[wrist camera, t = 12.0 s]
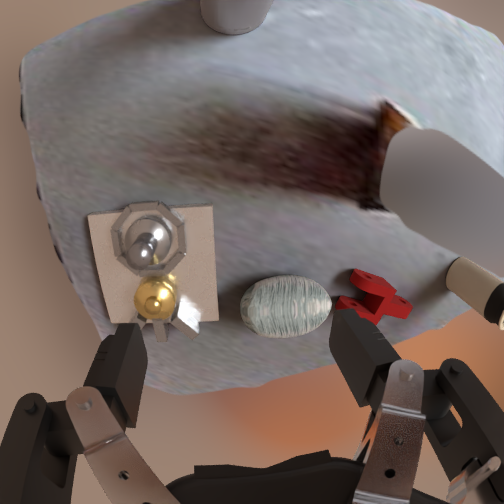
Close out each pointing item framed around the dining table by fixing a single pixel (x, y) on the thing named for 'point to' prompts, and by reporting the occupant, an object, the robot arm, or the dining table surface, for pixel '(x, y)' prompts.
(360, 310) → the mechanical linkage
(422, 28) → the dining table surface
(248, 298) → the streaked stone egg
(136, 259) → the silver knob
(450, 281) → the travel mug
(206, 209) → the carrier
